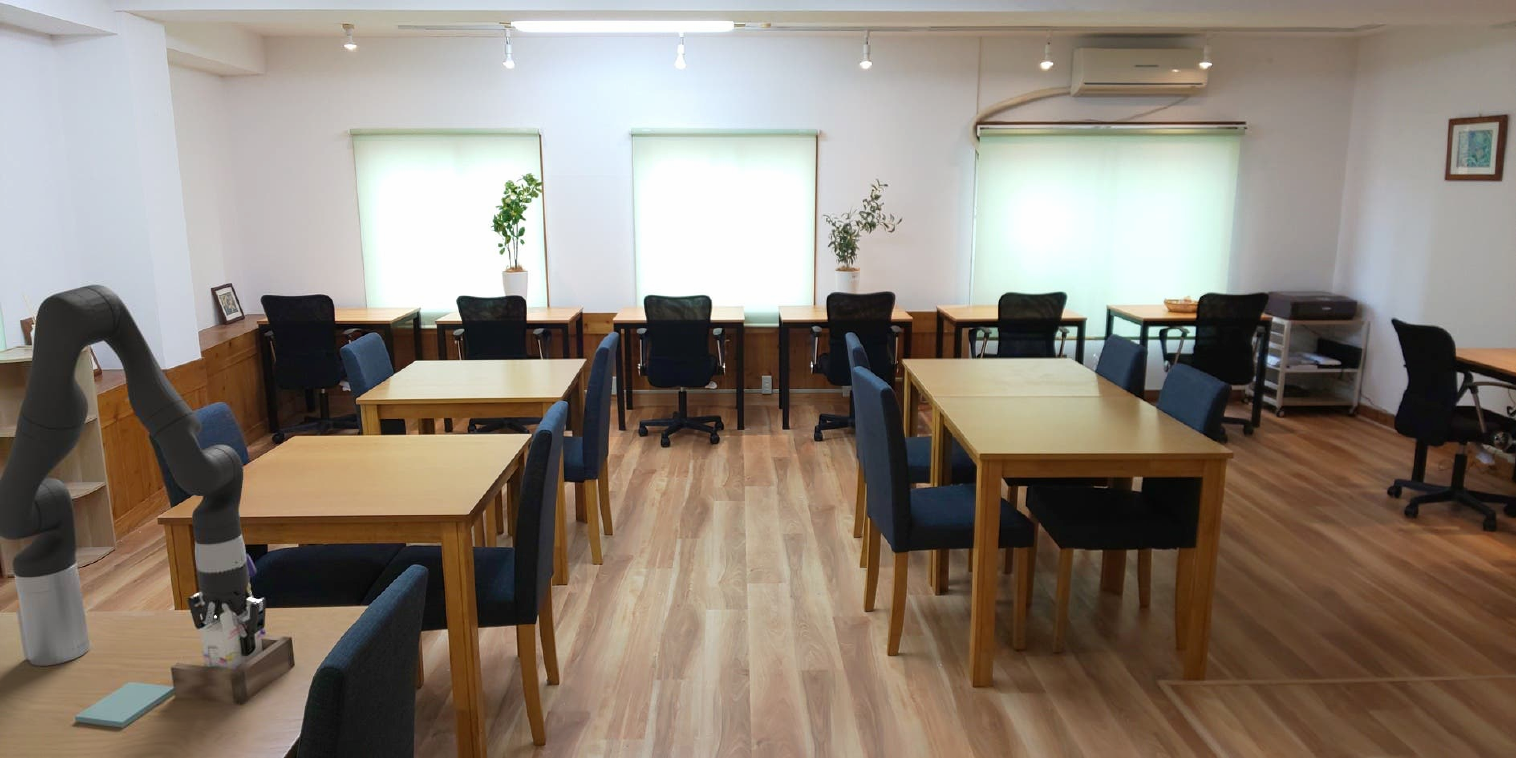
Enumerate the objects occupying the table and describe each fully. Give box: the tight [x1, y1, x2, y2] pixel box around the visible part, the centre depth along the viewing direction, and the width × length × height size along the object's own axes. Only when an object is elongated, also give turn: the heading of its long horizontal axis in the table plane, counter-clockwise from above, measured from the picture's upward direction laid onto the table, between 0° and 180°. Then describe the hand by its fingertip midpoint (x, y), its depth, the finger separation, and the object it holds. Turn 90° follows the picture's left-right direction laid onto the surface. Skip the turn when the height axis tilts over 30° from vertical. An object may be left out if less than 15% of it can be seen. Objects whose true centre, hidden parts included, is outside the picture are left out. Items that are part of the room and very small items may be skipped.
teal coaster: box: [74, 681, 175, 729], centre depth 162 cm, size 9×11×1 cm
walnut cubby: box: [170, 633, 296, 706], centre depth 169 cm, size 13×14×6 cm
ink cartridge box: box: [198, 595, 263, 670], centre depth 168 cm, size 9×5×15 cm, turn 168°
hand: (233, 651), depth 169 cm, fingers open, 5 cm apart
